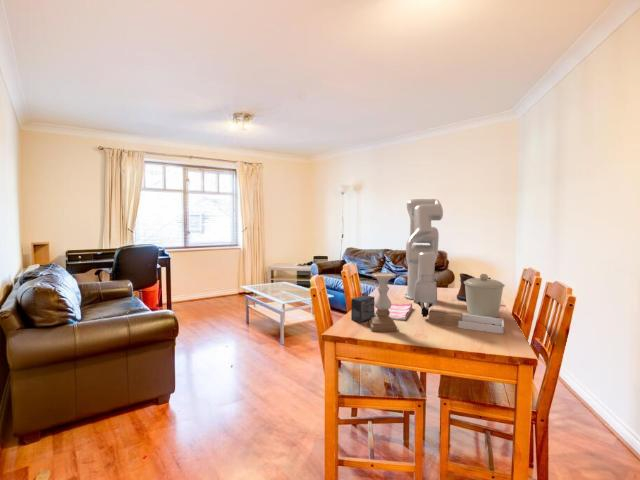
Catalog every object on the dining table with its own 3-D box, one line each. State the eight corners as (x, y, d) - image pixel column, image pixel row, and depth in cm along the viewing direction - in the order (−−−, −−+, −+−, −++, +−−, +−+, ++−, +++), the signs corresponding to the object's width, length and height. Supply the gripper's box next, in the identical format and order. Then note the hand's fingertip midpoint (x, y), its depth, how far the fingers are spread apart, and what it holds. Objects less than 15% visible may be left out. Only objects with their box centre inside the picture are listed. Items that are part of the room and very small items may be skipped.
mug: (491, 300, 203) (492, 274, 202) (488, 304, 194) (489, 278, 193) (458, 296, 213) (459, 271, 212) (454, 300, 204) (454, 274, 203)
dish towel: (413, 309, 186) (413, 302, 186) (405, 322, 165) (405, 314, 165) (381, 306, 193) (381, 299, 193) (370, 317, 172) (370, 310, 172)
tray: (460, 319, 167) (461, 313, 167) (503, 325, 159) (503, 318, 159) (458, 327, 156) (458, 321, 155) (503, 334, 148) (504, 327, 147)
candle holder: (368, 323, 161) (369, 271, 159) (392, 323, 161) (393, 272, 159) (371, 331, 150) (372, 276, 148) (397, 332, 150) (398, 276, 148)
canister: (507, 316, 173) (509, 273, 171) (496, 324, 160) (498, 278, 158) (469, 309, 185) (471, 269, 183) (456, 316, 172) (458, 274, 170)
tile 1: (430, 317, 170) (431, 308, 170) (446, 319, 167) (446, 310, 167) (428, 321, 164) (428, 312, 163) (444, 323, 161) (444, 314, 160)
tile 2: (446, 319, 167) (446, 310, 167) (462, 321, 164) (462, 312, 164) (444, 324, 161) (444, 314, 160) (460, 326, 158) (461, 316, 157)
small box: (364, 315, 174) (364, 294, 173) (375, 318, 169) (375, 296, 169) (350, 319, 167) (350, 298, 166) (361, 323, 162) (361, 300, 161)
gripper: (443, 278, 166) (442, 316, 168) (411, 275, 173) (410, 312, 174) (441, 281, 160) (440, 320, 161) (408, 278, 166) (407, 316, 168)
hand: (424, 316), depth 168 cm, fingers closed
